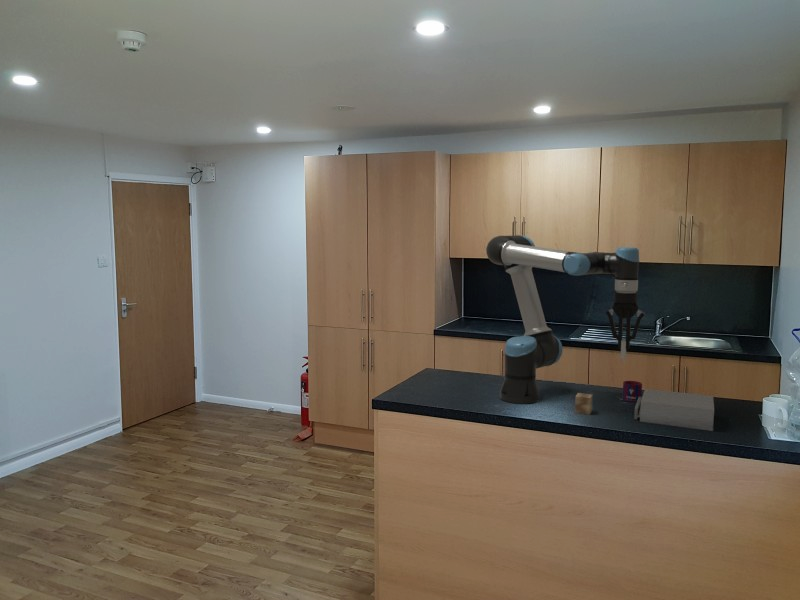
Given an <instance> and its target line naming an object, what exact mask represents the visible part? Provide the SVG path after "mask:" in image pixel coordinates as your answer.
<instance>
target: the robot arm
mask: <svg viewBox="0 0 800 600" xmlns="http://www.w3.org/2000/svg"><path fill="white" fill-rule="evenodd" d="M485 251H486V256H487V259H488V260H489V261H490V262H491V263H493V264H495V265H498V266H504V270H505V273H507V274H509V275H510V277H511V281H512V286H513V288H514V293H515V296H516V300H517V303H518V307H519V308H518V309H519V311H520V315H521V319H522V323H523V327H524V330H525V332H524V334H523V335H521V336H513V337H511V338H509V339H507V340H506V341H505V347H504V379H503V382H502V385H501V388H500V390H499V398H500V399H501V400H502V401H505V402H508V403H511V404H521V405H522V404H526V405H527V404H533V403H537V402H539V401H540V400H541V393H540V390H539V386H538V383H537V382H538V381H537V380H536V379H537V378H536V377H537V375H536V373H537V369H539V368H544V367H549V366H552V365H554V364H556V363H558V361H559V360H560V359H561V357H562V354H563V344H562V341H561V340H560V339H559V338H557V336H555V335H554V333H553V332H554V331H553V330H552V328H550V327H549V326H548V325H547V323H546V322H547V321H546V319H545V315H544V311H543V307H542V304H541V299H540V296H539V293H538V289H537V285H536V280H535V278H534V274H533V268H536V269H537V268H538V269H544V270H550V271H557V272H561V273H567V274H568V275H570V276H576V277H577V276H578V277H579V276H587V275H588V276H589V275H598V274H604V275H605V274H606V275H609V274H610V275H611V274H612V275H614V291H616V292H614V295H613V296H614V300H613V305H612V307H611V308H610V309H608V310H607V311H605V315H606V316H607V317H608V321H609V325H610V331H611V335H612V338H613V339H617V349H618V350H620V359H621V360H626V359H627V350H630V348H631V347H630V346H631V345H630V344H631V340H635V339H636V337H637V335H638V331H639V327H640V324H641V321H642V318H644V316H645V315H646V313H645V312H643V311H642V310H640V309H639V306H638V291H639V290H638V289H639V266H640V252H639V251H640V250H639V249H638V247H630V246H629V247H628V246H627V247H625V246H624V247H620V246H619V247H617V248H616V250H615V252H600V251H599V252H598V251H591V252H585V253H582V252H576V251H567V250H560V249H554V248H546V247H541V246H540V247H539V246H536V245H535V244H534V241H533V240H532V239H531V238H529V237H527V236H526V235H525V236H524V235H521V234H516V235H498V236H494V237H493V238H491V239H490V240H489V241H488V243H487V246H486V249H485ZM614 314H615V315H616V316H617V317H618V329H616V328H617V327H616V324H615V319H614ZM635 314H636V321H635V325H634V327H633V331H632V334H631V329H632V318H633V317H634V316H635ZM624 319H626V325H625V328H626V329H625V339H623V331H624V330H623V329H624ZM617 330H618V331H617Z"/></svg>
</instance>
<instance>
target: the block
mask: <svg viewBox="0 0 800 600" xmlns="http://www.w3.org/2000/svg"><path fill="white" fill-rule="evenodd" d="M574 405H575V406H574V413H575V414H583V415H589V416H590V414H591V413H592V411H593V393H592V394H591V393H582V392H577V394H576V395H575V403H574Z"/></svg>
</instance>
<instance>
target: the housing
mask: <svg viewBox="0 0 800 600" xmlns="http://www.w3.org/2000/svg"><path fill="white" fill-rule="evenodd" d="M642 393H643V394H642V399H641V407H640V417H639V422H641V423H648V424H655V425H656V424H657V425H663V426H671V427H679V428H687V429H694V430H703V431H710V432H713V431H714V422H715V421H714V420H715V419H714V418H715V403H714V396H713V395H706V394H697V393H687V392H678V391H669V390H668V391H667V390H660V389H658V390H657V389H649V388H645V389H644V391H643V392H642Z"/></svg>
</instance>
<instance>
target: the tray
mask: <svg viewBox="0 0 800 600" xmlns="http://www.w3.org/2000/svg"><path fill="white" fill-rule="evenodd" d="M641 399H642V397H639V398H638V400H637V403H635V406H634V412H633V413H634V414H633V415H634V416H633V420H638V418H640V407H641Z"/></svg>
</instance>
